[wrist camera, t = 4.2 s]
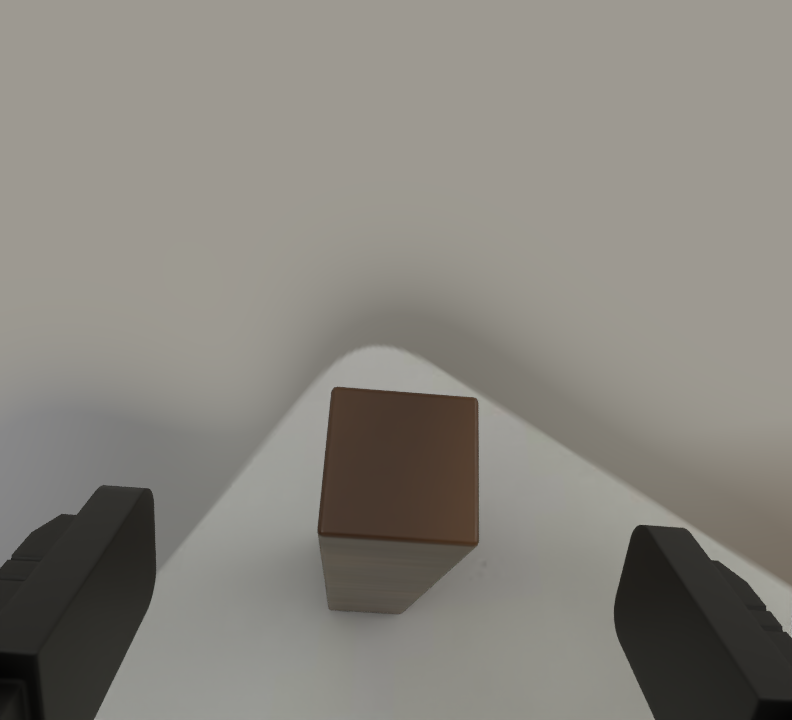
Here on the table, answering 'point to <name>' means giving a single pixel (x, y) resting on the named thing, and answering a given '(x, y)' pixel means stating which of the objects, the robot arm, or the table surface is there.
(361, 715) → the table surface
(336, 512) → the stick
